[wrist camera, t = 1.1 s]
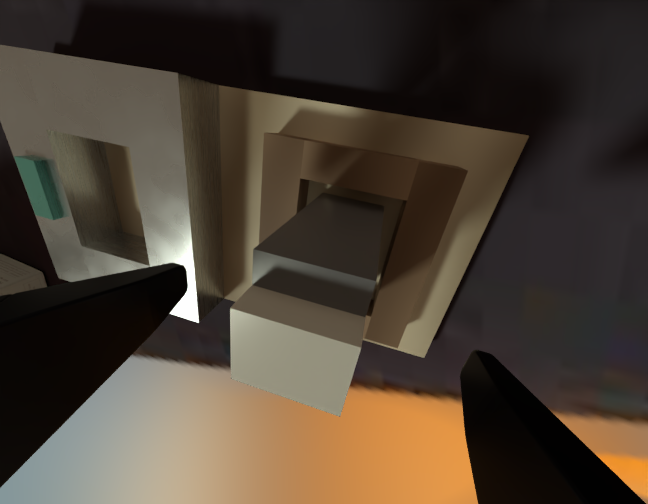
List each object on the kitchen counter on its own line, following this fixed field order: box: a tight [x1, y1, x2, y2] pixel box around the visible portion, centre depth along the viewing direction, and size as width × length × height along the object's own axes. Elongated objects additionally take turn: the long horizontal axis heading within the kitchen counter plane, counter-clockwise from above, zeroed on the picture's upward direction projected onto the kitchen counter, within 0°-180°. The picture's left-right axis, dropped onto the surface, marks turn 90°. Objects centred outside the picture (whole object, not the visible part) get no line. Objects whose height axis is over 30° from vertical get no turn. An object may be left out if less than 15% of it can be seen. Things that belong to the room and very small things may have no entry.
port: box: [0, 45, 224, 323], centre depth 14 cm, size 10×12×3 cm
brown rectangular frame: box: [259, 133, 468, 348], centre depth 12 cm, size 8×9×2 cm
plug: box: [230, 193, 384, 417], centre depth 10 cm, size 3×4×8 cm, turn 170°
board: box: [104, 85, 529, 358], centre depth 14 cm, size 24×12×1 cm, turn 80°
